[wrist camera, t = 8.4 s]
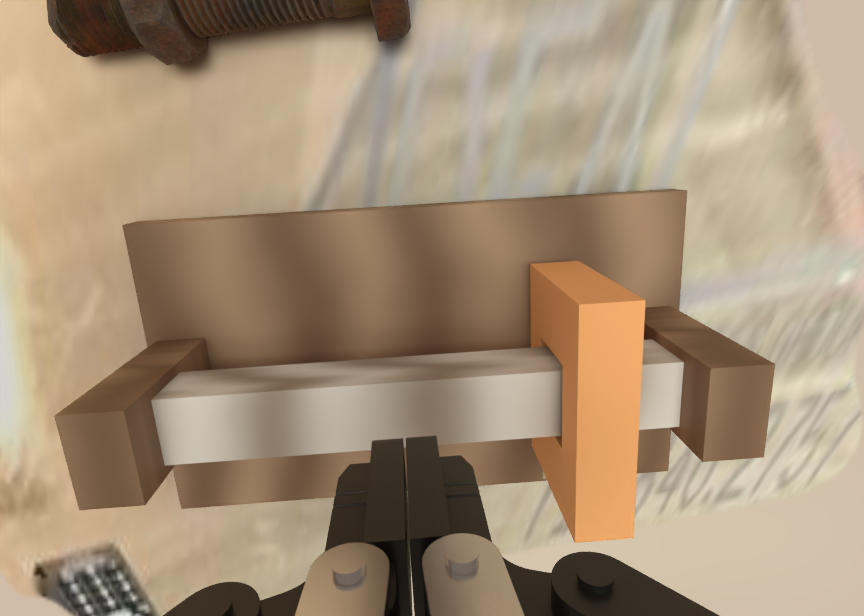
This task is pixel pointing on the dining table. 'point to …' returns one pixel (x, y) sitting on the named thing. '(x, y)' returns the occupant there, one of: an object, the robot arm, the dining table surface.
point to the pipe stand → (388, 348)
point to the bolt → (199, 22)
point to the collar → (591, 395)
